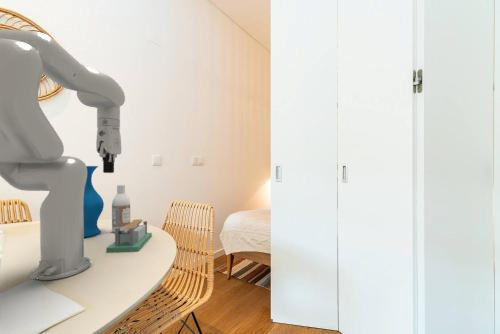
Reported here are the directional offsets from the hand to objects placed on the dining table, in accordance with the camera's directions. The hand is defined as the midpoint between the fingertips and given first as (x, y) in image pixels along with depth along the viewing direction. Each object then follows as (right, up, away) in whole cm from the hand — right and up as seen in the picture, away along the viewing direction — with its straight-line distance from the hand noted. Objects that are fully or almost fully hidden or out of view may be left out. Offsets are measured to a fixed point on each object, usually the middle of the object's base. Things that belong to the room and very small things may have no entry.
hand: (108, 172), depth 92 cm
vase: (-13, -26, +7) cm, 30 cm away
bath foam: (-2, -26, +12) cm, 28 cm away
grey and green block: (+10, -26, -4) cm, 28 cm away
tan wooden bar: (+10, -20, -3) cm, 23 cm away
